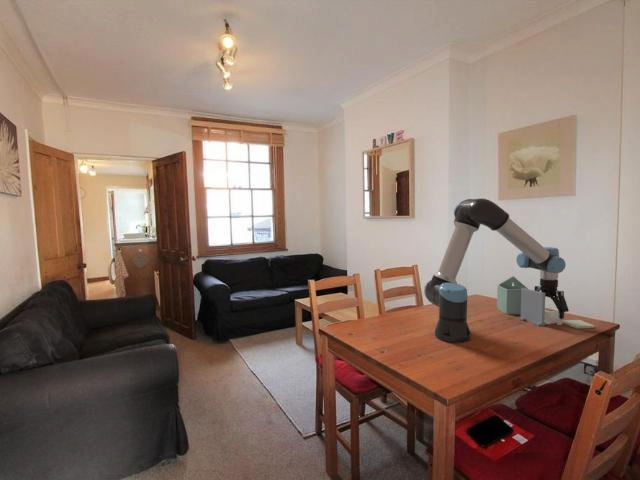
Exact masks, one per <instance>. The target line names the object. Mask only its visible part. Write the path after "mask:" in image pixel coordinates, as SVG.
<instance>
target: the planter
mask: <svg viewBox="0 0 640 480" xmlns="http://www.w3.org/2000/svg"><path fill="white" fill-rule="evenodd" d="M521 288H526V289H529V288H528V287H527V286H526V285H524V283H522V282H521V281H520V280H518V279H517V278H516V277H515V276H514V275H513V276H510V277H509V278H507V279H506V280H504V281H502V282H500V283H498V284H497V288H496V309H497V310H499V311H500V312H502V313H504V314H505V313H506V314H505V315H521Z"/></svg>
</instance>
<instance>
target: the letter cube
mask: <svg viewBox="0 0 640 480" xmlns="http://www.w3.org/2000/svg"><path fill="white" fill-rule="evenodd" d="M557 312H559V311H558V310H555V309H552V308H549V307H545V319H544V322H545V323H546V325H551V324H557Z"/></svg>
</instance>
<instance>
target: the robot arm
mask: <svg viewBox="0 0 640 480" xmlns="http://www.w3.org/2000/svg"><path fill="white" fill-rule="evenodd" d="M453 215H454V220H453V225H454V226H455V227H454V230H453V233H452V235H451V238H450V239H449V243H448V245H447V248H446V249H445V253H444V256H443V258H442V261H441V264H440V266H439V269H438V272H436V273H434V274H433V275H432V277H431V279H430V280H428V281H427V282H426V283H425V285H424V289H423V292H424V294H423V295H424V296H425V297H426V300H427V301H428V302H429V303H431V305H435V306H436V307H438V321H437V323H436V326H435V329H434V336H435V337H436V338H437V339H439V340H441V341H444V342H448V343H456V344H457V343H460V344H461V343H467V342H469V341H471V340H472V338H471V337H472V333H471V330H470V327H469V323H468V297H469V296H468V289H467V288H466V287H465V286H464V285H462V284H460V283H458V282H457V276H458V274H459V271H460V268H461V266H462V263H463V261H464V258H465V255H466V254H467V253H466V252H467V250H468V248H469V246H470V242H471V241H472V238H473V235H474V233H475V232H477V231H479V229H480V226H481V225H482V226H485V227H487V228H489V230H491V231H494V232H498V233H499V235H501V236H502V237H503V238H505V240H507V241H508V242H509V243H510V244H512V245H513V246H514V247H515V248H517V249H518V250H519V251H520V253H518V254H517V255H516V261H515V262H516V264H517V266H518V267H519V268H521V269H534V270H539V277H540V278H539V285H535V286H534V291H538V292H542V293H545V298H546V297H547V298H550V299H551V301H552V302H553V303H554V305H555V307H556V308H557V311H558V312H557V323H556V326H562V325H563V323H562V322H563V320H565V319H564V318H565V313H567V312H569V311H570V309H569V307H568V304H567V301H566V298H565V292H564V290H558V286H559V274H560V273H562V272H563V271H564V270H565V268H566V265H567V264H566V261H565V259H564V258H563V257H560V250H559V248H558V247H551V246H546V247H544V246H543V245H541V244H540V243H539V242H538V241H537V240H536V239H535V238H533V237H532V236H531V235H530V234H529V233H528V232H527V231H525V230H524V229H523V228H522V227H521V226H520V225H519V224H517V223H516V222H515V221H513V220H512V219H511V218H510V214H509V213H508V212H506V210H504V208H502V207H501V206H499V205H498V204H497V203H495V202H493V201H491V200H490V199H487V198H467V199H464V200H461V201H460V202H458V204H457V205H456V206H455V207H454V209H453Z"/></svg>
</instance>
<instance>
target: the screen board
mask: <svg viewBox="0 0 640 480" xmlns="http://www.w3.org/2000/svg"><path fill="white" fill-rule="evenodd" d="M545 308H546V297H545V293H542V292H541V291H540V292H538V291H534V290H533V289H529V288H528V289H526V288H521V314H520V317H519V316H518V320H519V321H526V322H529V323H532V324H533V325H534V326H537V327H543V326H546V325H547V323H545V322H544V319H545Z"/></svg>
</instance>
